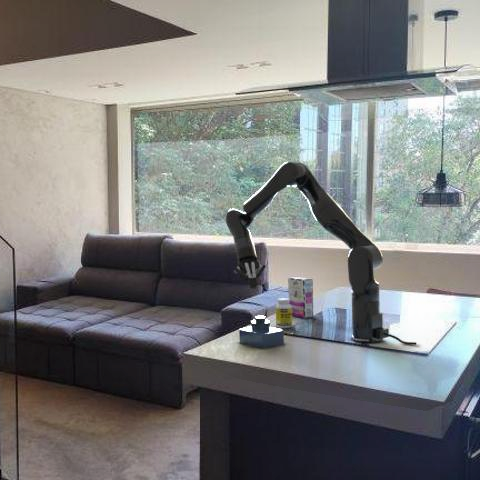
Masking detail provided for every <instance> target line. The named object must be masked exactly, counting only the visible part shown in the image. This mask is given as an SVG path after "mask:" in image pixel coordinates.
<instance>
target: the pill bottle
mask: <svg viewBox="0 0 480 480" xmlns="http://www.w3.org/2000/svg"><path fill="white" fill-rule="evenodd" d="M289 303H290V299H289V297H288V298H287V297H285V298H284V297H281V298H277V304H276V305H275V326H276V327H277V328H278V329H289V328H292V327H293V316H292V306H291V305H290V304H289Z"/></svg>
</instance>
